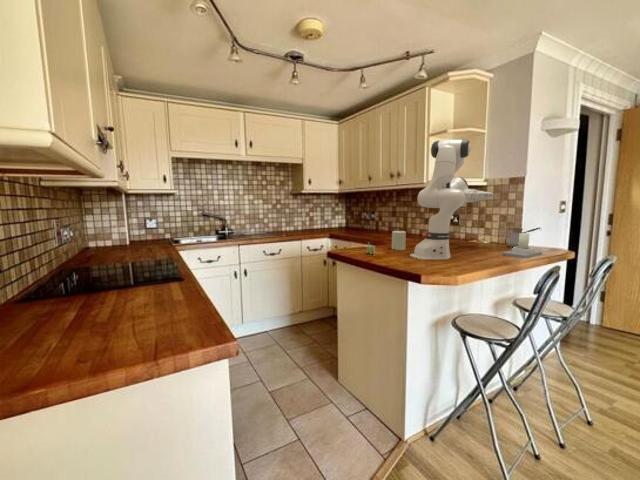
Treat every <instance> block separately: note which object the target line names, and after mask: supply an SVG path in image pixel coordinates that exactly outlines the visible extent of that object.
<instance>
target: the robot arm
mask: <svg viewBox="0 0 640 480" xmlns="http://www.w3.org/2000/svg"><path fill="white" fill-rule="evenodd" d="M471 150H472V144H471V142H470V140H468V139H465V138H464V139H463V138H462V139H450V138H449V139H443V140H436V141H434V142H433V143H432V144H431V147H430V154H431V157H432V158H434V159H435V160H434V167H433V168H434V169H433V173H432V177H431V180H430V181H429V183H428V184H427V185H426V187H424V188H423V189H422V190H420V191H419V192H418V195H417V203H418V205H419V206H420V207H423V208H428V209H430V208H431V209H439V211H438V213H436V214H433V215H432V216H431V217H430V218H429V221H428V231H427V233H426V232H422V237H425V238H424V239H423V240H422V241H420V242H418V243H417V244H416V245H415V247H414V250H413V253H410V255H409V256H410V257H411V258H414V259H416V258H417V259H416V260H422V261H423V260H429V261H430V260H434V261H435V260H437V261H439V260H440V261H441V260H447V261H448V260H449V259H451V258H452V255H451V252H450V237H451V236H450V235H451V233H450V225H451V220H452V217H453V215H454V213H455V212H456V211H457V210H458V209H460V208H461V207H462V206H463V205H464V203H475V202H480V201H481V202H482V201H484V200H491V199H493V198H494V192H491V191H484V190H478V189H475V188H469V185H468V184H469V183H468V181H467V180H466V179H465V178H463V177H458V176H457V177H455V175H456V173H457V172H458V171H459V170H460V169H461V168H462V166H463V165H464V162H465V158H467V157H468V156H469V155H470V153H471Z"/></svg>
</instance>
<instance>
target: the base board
mask: <svg viewBox="0 0 640 480" xmlns="http://www.w3.org/2000/svg"><path fill="white" fill-rule="evenodd" d="M540 254H541V255H543V251H539V250H535V247H528V249H521V248H518V247H513V248H512V247H511V250H509V251H503V252H502V256H507V257H513V258H515V257H516V258H520V259H527V258H532V257H537V256H539V255H540Z"/></svg>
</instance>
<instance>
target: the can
mask: <svg viewBox="0 0 640 480" xmlns="http://www.w3.org/2000/svg"><path fill="white" fill-rule="evenodd" d="M406 236H407V232H406V231H403V230H393V231H391V250H394V249H395V250H396V251H405V250H406V241H407V240H406V239H407V237H406Z"/></svg>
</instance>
